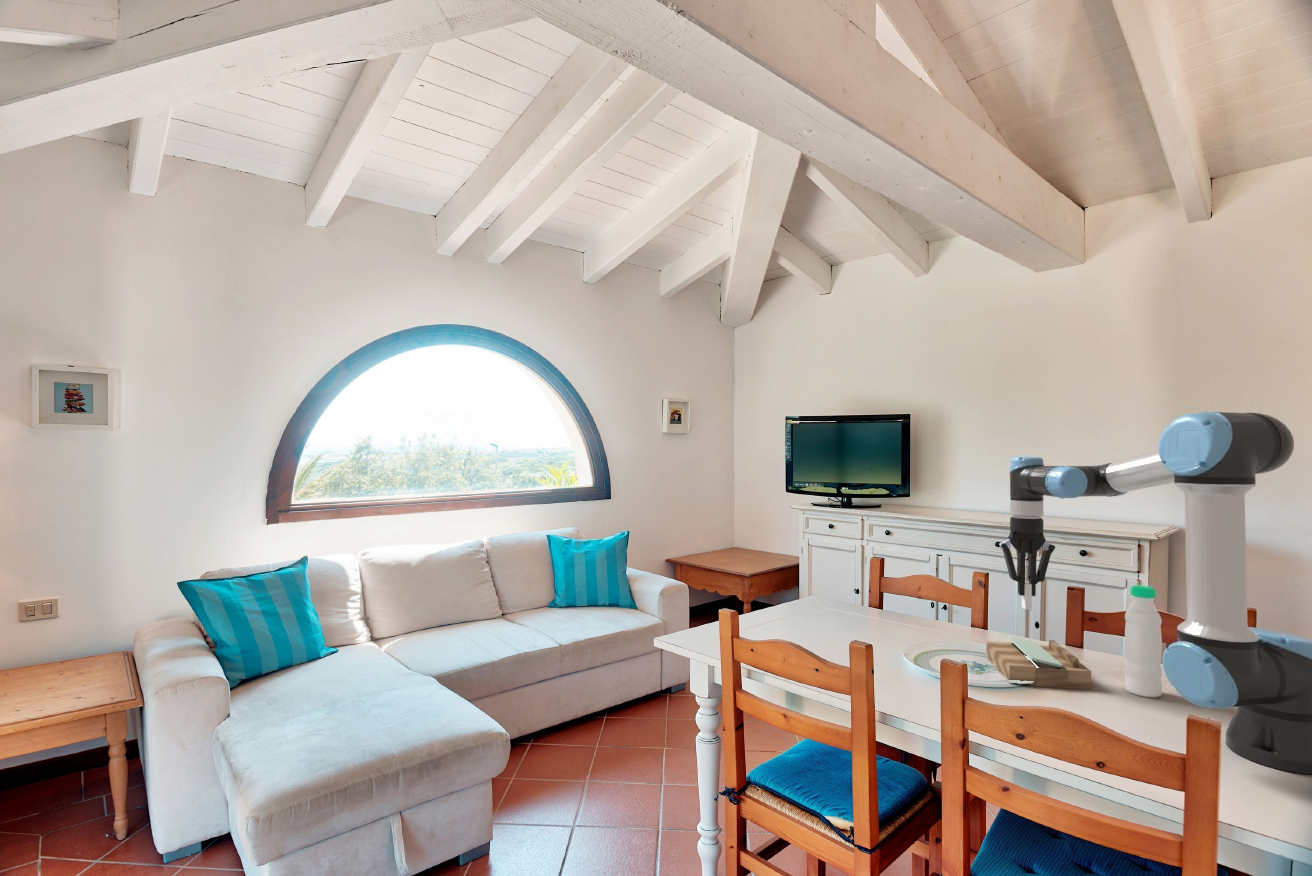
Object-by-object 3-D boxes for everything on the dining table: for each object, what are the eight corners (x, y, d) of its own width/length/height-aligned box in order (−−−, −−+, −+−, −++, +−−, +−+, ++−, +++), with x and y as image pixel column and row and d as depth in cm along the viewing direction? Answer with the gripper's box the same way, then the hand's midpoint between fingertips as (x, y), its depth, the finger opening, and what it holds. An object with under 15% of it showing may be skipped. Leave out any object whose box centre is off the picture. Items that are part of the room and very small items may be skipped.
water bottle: (1168, 699, 152) (1168, 590, 153) (1133, 697, 154) (1133, 589, 154) (1152, 688, 159) (1151, 584, 159) (1119, 686, 161) (1118, 583, 161)
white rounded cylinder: (1059, 680, 163) (1061, 668, 163) (1046, 678, 164) (1048, 666, 164) (1040, 663, 176) (1042, 652, 176) (1028, 661, 177) (1029, 650, 177)
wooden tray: (1092, 690, 158) (1092, 663, 158) (1010, 684, 162) (1010, 658, 162) (1058, 661, 179) (1058, 638, 179) (985, 656, 183) (985, 634, 183)
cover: (1064, 670, 161) (1065, 666, 161) (1031, 662, 162) (1032, 657, 162) (1036, 646, 179) (1037, 642, 179) (1006, 639, 181) (1007, 635, 181)
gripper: (1049, 515, 173) (1049, 606, 173) (994, 514, 176) (995, 603, 176) (1060, 519, 166) (1060, 613, 166) (1003, 517, 169) (1003, 610, 169)
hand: (1026, 608), depth 171 cm, fingers closed
